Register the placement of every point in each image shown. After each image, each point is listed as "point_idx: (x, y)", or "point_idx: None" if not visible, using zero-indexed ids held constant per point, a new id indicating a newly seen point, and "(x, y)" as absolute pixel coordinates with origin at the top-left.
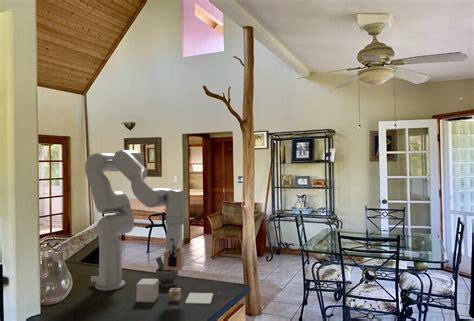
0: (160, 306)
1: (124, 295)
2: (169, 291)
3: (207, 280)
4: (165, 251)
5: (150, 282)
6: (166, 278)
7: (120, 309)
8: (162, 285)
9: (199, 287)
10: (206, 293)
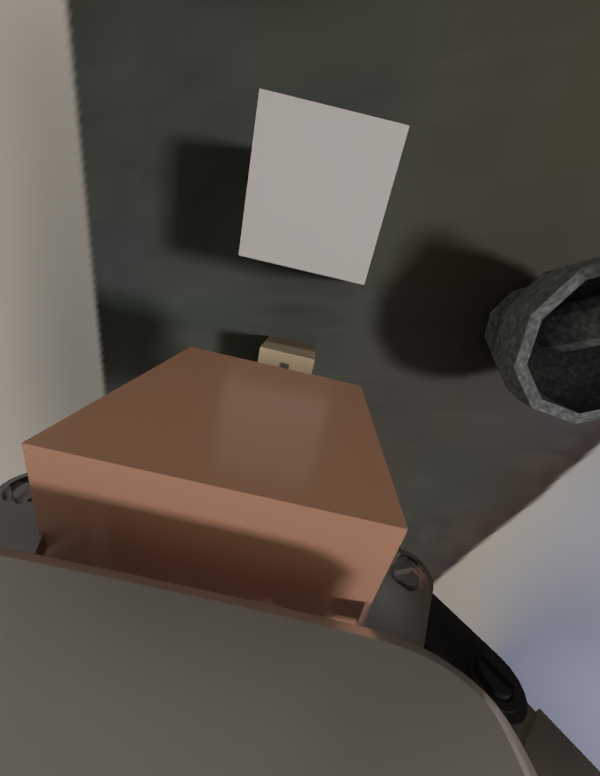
0: (205, 297)
1: (412, 29)
2: (260, 349)
3: (504, 512)
4: (85, 471)
5: (286, 221)
6: (498, 333)
7: (168, 51)
8: (506, 300)
9: (418, 473)
10: None
